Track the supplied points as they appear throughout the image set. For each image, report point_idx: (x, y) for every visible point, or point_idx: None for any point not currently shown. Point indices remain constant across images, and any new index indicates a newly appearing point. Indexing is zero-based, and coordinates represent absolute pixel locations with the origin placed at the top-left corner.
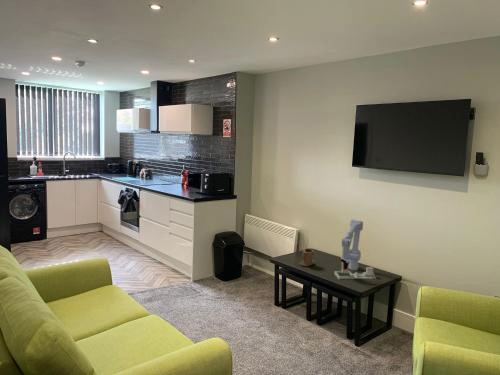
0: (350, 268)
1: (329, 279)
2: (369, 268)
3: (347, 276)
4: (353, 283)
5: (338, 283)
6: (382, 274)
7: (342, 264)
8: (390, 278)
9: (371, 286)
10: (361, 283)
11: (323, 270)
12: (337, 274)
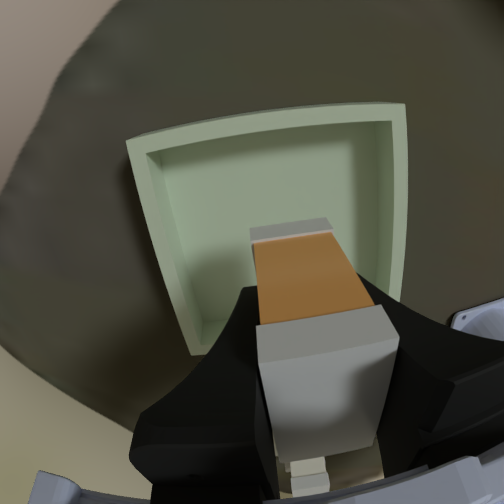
0: (481, 323)
1: (145, 4)
2: (294, 496)
3: (174, 275)
4: (91, 300)
5: (34, 130)
6: (349, 465)
7: (305, 316)
8: (283, 484)
9: (96, 405)
10: (124, 364)
11: (478, 7)
12: (234, 120)
